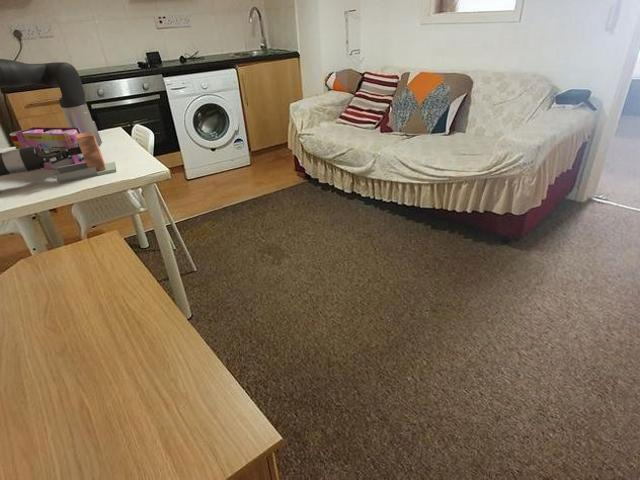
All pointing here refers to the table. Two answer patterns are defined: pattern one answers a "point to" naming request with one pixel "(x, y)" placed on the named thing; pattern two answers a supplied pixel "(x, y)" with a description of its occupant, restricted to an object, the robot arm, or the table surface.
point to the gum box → (52, 142)
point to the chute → (82, 171)
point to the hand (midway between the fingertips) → (82, 149)
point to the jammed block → (91, 150)
